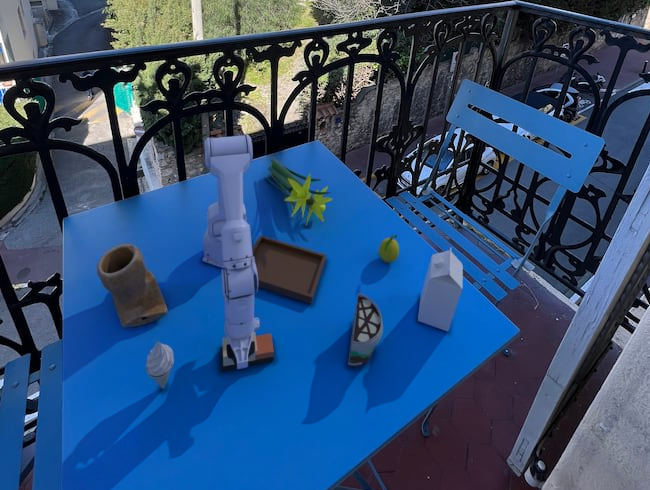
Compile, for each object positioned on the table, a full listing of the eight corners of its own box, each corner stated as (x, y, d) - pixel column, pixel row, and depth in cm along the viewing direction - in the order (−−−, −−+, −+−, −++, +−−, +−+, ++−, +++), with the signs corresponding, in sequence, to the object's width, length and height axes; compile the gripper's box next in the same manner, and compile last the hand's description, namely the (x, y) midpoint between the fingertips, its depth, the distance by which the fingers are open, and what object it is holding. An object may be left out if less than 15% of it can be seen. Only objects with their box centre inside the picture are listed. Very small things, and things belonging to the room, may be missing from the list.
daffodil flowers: (301, 169, 148) (354, 210, 118) (271, 198, 144) (319, 248, 114) (275, 137, 141) (326, 172, 111) (243, 167, 137) (287, 211, 107)
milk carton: (449, 306, 101) (466, 251, 93) (448, 332, 95) (467, 276, 87) (420, 296, 103) (435, 242, 95) (417, 321, 97) (433, 265, 89)
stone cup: (101, 290, 98) (91, 246, 92) (152, 269, 104) (146, 226, 98) (113, 345, 87) (103, 298, 80) (169, 317, 93) (164, 272, 87)
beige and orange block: (221, 371, 84) (220, 358, 82) (220, 350, 88) (219, 337, 86) (273, 361, 86) (274, 348, 85) (270, 340, 90) (271, 328, 88)
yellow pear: (381, 272, 109) (386, 245, 105) (371, 254, 114) (376, 228, 110) (402, 266, 111) (409, 240, 107) (392, 250, 116) (398, 224, 112)
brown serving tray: (238, 280, 103) (238, 273, 102) (259, 241, 115) (260, 235, 114) (311, 304, 99) (312, 297, 98) (325, 261, 111) (326, 254, 110)
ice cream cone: (161, 408, 77) (154, 360, 71) (144, 391, 79) (136, 343, 73) (182, 384, 81) (177, 337, 75) (165, 368, 83) (159, 321, 77)
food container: (376, 381, 84) (383, 352, 80) (347, 373, 85) (352, 344, 81) (379, 325, 95) (385, 297, 91) (353, 319, 96) (358, 290, 92)
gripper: (264, 343, 75) (262, 386, 81) (255, 276, 88) (254, 317, 93) (225, 350, 73) (226, 393, 79) (222, 281, 86) (223, 323, 92)
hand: (239, 353), depth 86 cm, fingers closed on beige and orange block, 4 cm apart
